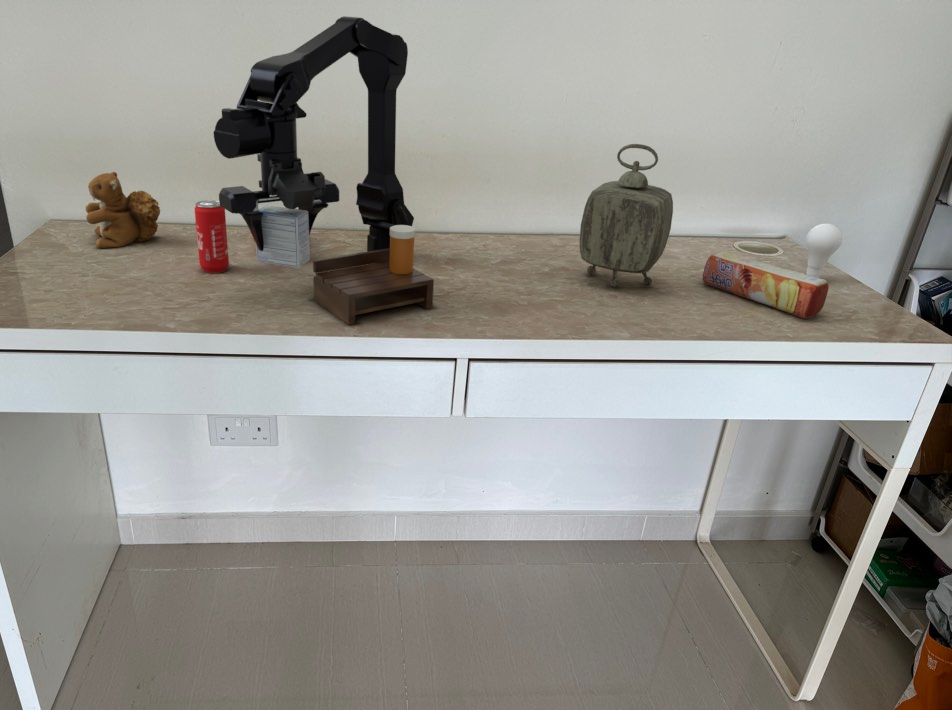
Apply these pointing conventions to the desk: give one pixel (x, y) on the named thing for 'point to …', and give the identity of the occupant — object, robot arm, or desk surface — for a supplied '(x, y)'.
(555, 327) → the desk surface
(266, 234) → the medicine box
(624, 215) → the tabletop clock
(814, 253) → the lightbulb
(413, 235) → the pill bottle
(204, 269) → the red soda can
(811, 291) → the snack package
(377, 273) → the rack
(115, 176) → the stuffed squirrel
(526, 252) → the desk surface
